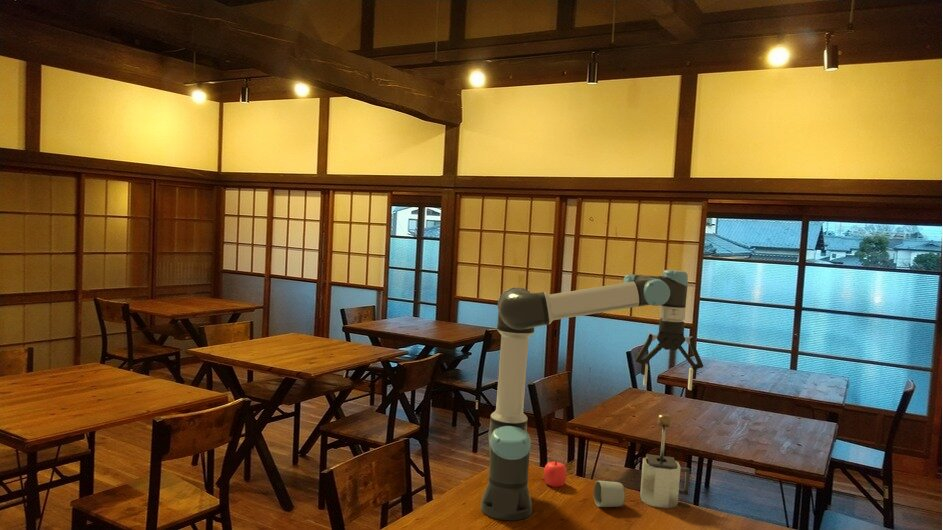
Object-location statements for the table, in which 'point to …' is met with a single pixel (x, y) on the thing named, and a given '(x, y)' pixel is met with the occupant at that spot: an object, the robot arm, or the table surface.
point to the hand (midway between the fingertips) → (667, 387)
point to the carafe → (662, 481)
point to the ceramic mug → (609, 494)
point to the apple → (555, 474)
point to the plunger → (663, 431)
